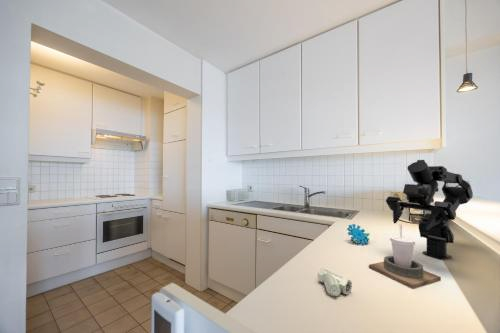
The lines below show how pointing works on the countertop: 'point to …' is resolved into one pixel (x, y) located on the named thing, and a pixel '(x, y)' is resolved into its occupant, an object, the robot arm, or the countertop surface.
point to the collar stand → (405, 273)
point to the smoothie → (402, 249)
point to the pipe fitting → (334, 283)
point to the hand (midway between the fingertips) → (409, 225)
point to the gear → (358, 234)
